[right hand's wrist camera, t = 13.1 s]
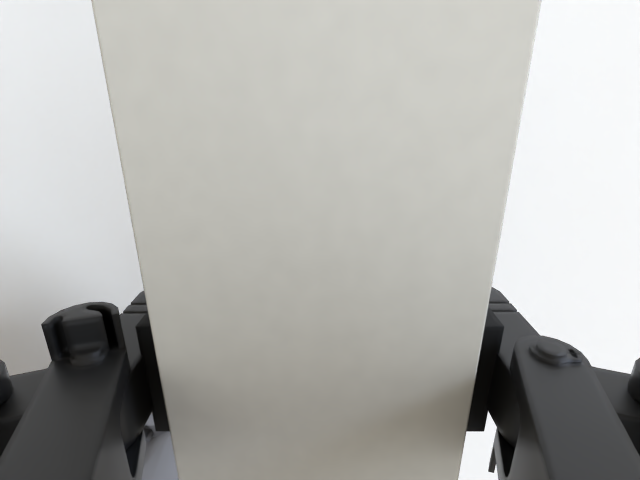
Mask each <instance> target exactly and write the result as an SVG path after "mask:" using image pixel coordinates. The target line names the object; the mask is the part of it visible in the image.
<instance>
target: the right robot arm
mask: <svg viewBox="0 0 640 480" xmlns="http://www.w3.org/2000/svg"><path fill="white" fill-rule="evenodd" d="M41 325H42V329H43V332H44V336H45V339H46V342H47V346H48V349H49V353H50V356H51V359H52V362H51V364H50V365H49V367H48V368H47V369H43V370H38V371H33V372H28V373H23V374H18V375H13V376H9V374H8V371H7V368H6V365H5V363H4V362H3V361H1V360H0V480H179V478H178V473H177V467H176V462H175V456H174V451H173V445H172V440H171V434H170V429H169V423H168V418H167V412H166V407H165V401H164V396H163V391H162V385H161V380H160V374H159V369H158V363H157V358H156V352H155V347H154V341H153V336H152V330H151V325H150V319H149V314H148V308H147V303H146V297H145V292H144V291H143V292H141V293H140V294H139V295H138V296H137V297H136V298H135V299H134V300H133V301H132V302H131V305H129V306H128V307H127V308H126V309H125V310H124V311H123V314H120V315H119V310H118V307H116V306H115V305H113V304H111V303H106V302H89V303H84V304H80V305H75V306H72V307H69V308H66V309H64V310H61V311H59V312H57V313H55V314H54V315H52V316H50V317H49V318H48V319H46V320H45V321H44V322H43V323H42V324H41ZM488 411H489V413H490V415H491V417H492V419H493V420H494V422H495V424H496V426H497V430H496V434H495V439H494V444H493V449H492V453H491V458H490V463H489V470H488V472H492V473H494V470H495V465H497V472H498V479H499V480H640V358H639V359H638V360H636V361H635V364H634V367H633V370H632V373H631V374H627V373H621V372H616V371H611V370H606V369H601V368H596V367H592V366H591V365H590V363H589V361H588V360H587V358H586V357H585V356H584V355H583V354H582V353H581V352H580V351H579V350H577V349H576V348H574V347H573V346H571V345H569V344H567V343H565V342H562V341H560V340H558V339H554V338H550V337H546V336H540V335H539V334H538V333H537V332H536V330H535V329H534V328H533V327H532V326H531V325H530V324H529V323H528V322H527V321H526V320H525V318H524V317H523V316H522V315H521V314H520V313H519V312H517V310H516V309H515V307H514V306H513V305H512V304H509V301H508V300H507V299H506V298H505V297H504V295H503V294H502V293H501V292H500V291H498V290H496V289H495V288H493V287H491V293H490V298H489V304H488V310H487V315H486V321H485V327H484V333H483V338H482V344H481V350H480V356H479V361H478V367H477V373H476V378H475V384H474V390H473V396H472V401H471V407H470V413H469V419H468V424H467V430H466V431H484V429H485V424H486V418H487V413H488Z"/></svg>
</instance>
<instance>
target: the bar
mask: <svg viewBox="0 0 640 480" xmlns="http://www.w3.org/2000/svg"><path fill="white" fill-rule="evenodd" d="M91 1H92V6H93V12H94V17H95V23H96V28H97V34H98V39H99V45H100V50H101V56H102V61H103V67H104V72H105V78H106V83H107V89H108V94H109V100H110V105H111V111H112V116H113V122H114V127H115V133H116V138H117V144H118V149H119V155H120V160H121V166H122V171H123V177H124V182H125V188H126V193H127V199H128V204H129V209H130V215H131V220H132V226H133V231H134V237H135V242H136V248H137V253H138V259H139V264H140V270H141V275H142V281H143V286H144V292H145V297H146V303H147V308H148V314H149V319H150V325H151V330H152V336H153V341H154V347H155V352H156V358H157V363H158V369H159V374H160V380H161V385H162V391H163V396H164V401H165V407H166V412H167V418H168V423H169V429H170V434H171V440H172V445H173V451H174V456H175V462H176V467H177V473H178V478H179V480H458V476H459V470H460V464H461V459H462V453H463V447H464V441H465V436H466V430H467V424H468V419H469V413H470V407H471V401H472V396H473V390H474V384H475V378H476V373H477V367H478V361H479V356H480V350H481V344H482V338H483V333H484V327H485V321H486V315H487V310H488V304H489V298H490V293H491V287H492V281H493V275H494V270H495V264H496V258H497V253H498V247H499V241H500V235H501V230H502V224H503V218H504V212H505V207H506V201H507V195H508V190H509V184H510V178H511V172H512V167H513V161H514V155H515V149H516V144H517V138H518V132H519V127H520V121H521V115H522V109H523V104H524V98H525V92H526V86H527V81H528V75H529V69H530V64H531V58H532V52H533V46H534V41H535V35H536V29H537V24H538V18H539V12H540V6H541V1H542V0H91Z"/></svg>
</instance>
